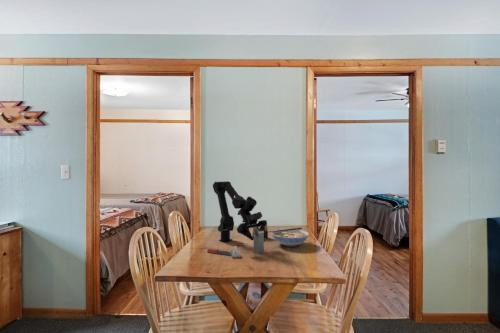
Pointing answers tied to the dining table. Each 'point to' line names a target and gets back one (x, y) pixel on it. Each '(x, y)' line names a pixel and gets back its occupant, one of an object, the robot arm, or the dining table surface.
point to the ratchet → (225, 252)
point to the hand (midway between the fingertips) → (259, 238)
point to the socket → (258, 241)
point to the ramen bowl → (290, 236)
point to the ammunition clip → (258, 229)
